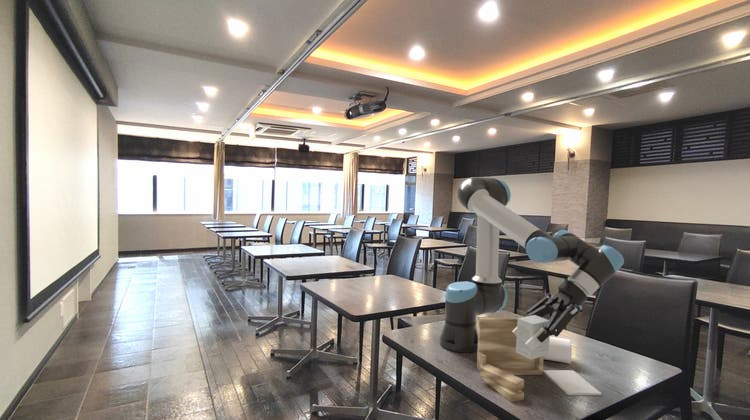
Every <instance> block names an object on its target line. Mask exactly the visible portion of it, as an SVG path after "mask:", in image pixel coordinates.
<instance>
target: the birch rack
mask: <svg viewBox="0 0 750 420" xmlns="http://www.w3.org/2000/svg"><path fill="white" fill-rule="evenodd" d="M518 318H522V317H520V316H519V317H515V316H514V317H509V316H508V317H507V316H503V317H502V316H500V317H499V316H498V317H497V316H477V321H478V326H477V327H478V328H477V332H478V350H477V353H476V357H477V358H476V368H477V370H478V371H479V372H480V367H482V366H485V365H487V364H489V365H491V366H494V367H496V368H498V369H501V370H503V371H505V372H507V373H510V374H512V375H514V376H517V375H518V376H519V375H525V376H527V375H528V376H529V375H533V376H535V375H537V376H543V375H544V372H543V370H544V360H545V359H544V356H542V357H539V358H535V359H532V360H531V359H529V358H527V357H525V356H523V355H521V354H518V353H516V341H517V336H516V335H515V334H514V333H513V332H512V331H513V330H514V329H515V328H516V327H517V319H518Z"/></svg>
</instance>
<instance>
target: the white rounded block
mask: <svg viewBox="0 0 750 420" xmlns="http://www.w3.org/2000/svg"><path fill="white" fill-rule="evenodd" d="M572 354H573V353H572V342H571V339H570V338H563V337H555V336H550V340H549V355H546V356H544V359H543V360H545V361H546V360H547V361H552V362H557V363H563V364H569V365H570V364H571V363H572V358H573V357H572Z"/></svg>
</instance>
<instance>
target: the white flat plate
mask: <svg viewBox="0 0 750 420" xmlns="http://www.w3.org/2000/svg"><path fill="white" fill-rule="evenodd" d="M543 374H545V376H547V377H548V378H549V379H550V380H551V381H552V382H553V384H555V385H556V386H557V387H559V389H561V391H563V393H565V394H566V395H567V396H602V392H600V391H599V390H598V389H597V388H596V387H594V386H593V385H592V384H590V383H589V382H588V381H586V380H585V379H584V377H582V376H580V375H579V374H578V373H577V372H576V371H574V370H573V369H570V370H569V369H567V370H565V369H564V370H563V369H561V370H560V369H559V370H558V369H557V370H555V369H554V370H553V369H550V370H549V369H543Z"/></svg>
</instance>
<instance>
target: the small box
mask: <svg viewBox="0 0 750 420" xmlns="http://www.w3.org/2000/svg"><path fill="white" fill-rule="evenodd" d="M548 321H549V319H547V318H544V317H539V316H536V315H532V316H527V315H526V316H523V317H522V318H518V319H517V341H516V353H518V354H521V355H523V356H525V357H527V358H529V359H531V360H532V359H535V358H539V357H542V356H546V355H549V340H550V337H551V336H549V337H548V338H547V339H546V340H544V341H543V342H542V343H541V344H540V345H538V346H537V347H536V348H535V349H534V350H533V351H532V350H531V349H530V348H529V347H528V346H527V345H526V344H525V343H526V342H527V341H528V340H529V339H530V338H531V337H532V336H533V335H534V334H535V333H537V332H538V331H539V330H540V329H541V328H543V326H546V325H547V323H548ZM543 329H544V328H543ZM544 330H545V329H544Z"/></svg>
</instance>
